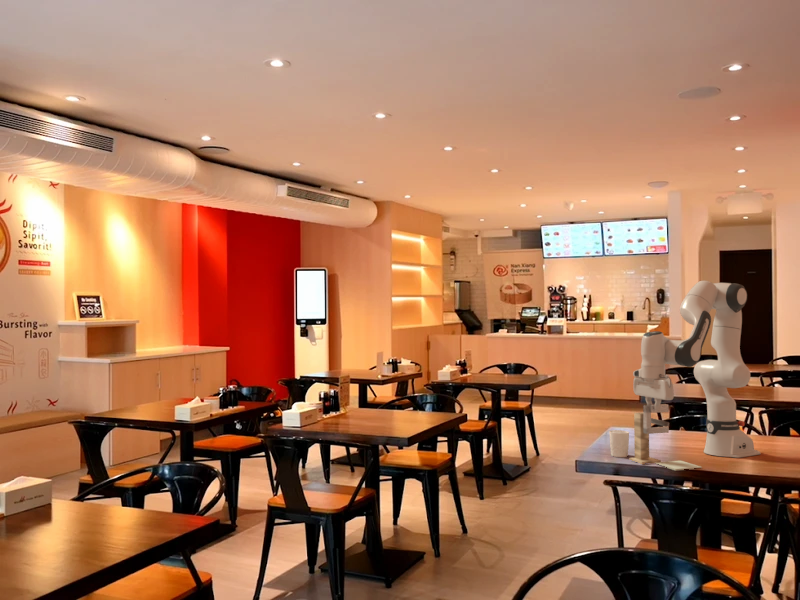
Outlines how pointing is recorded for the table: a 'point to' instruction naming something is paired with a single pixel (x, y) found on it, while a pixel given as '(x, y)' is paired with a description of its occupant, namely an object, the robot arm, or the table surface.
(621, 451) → the white cup
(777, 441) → the table surface
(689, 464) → the mat
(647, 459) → the stand
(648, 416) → the c link
